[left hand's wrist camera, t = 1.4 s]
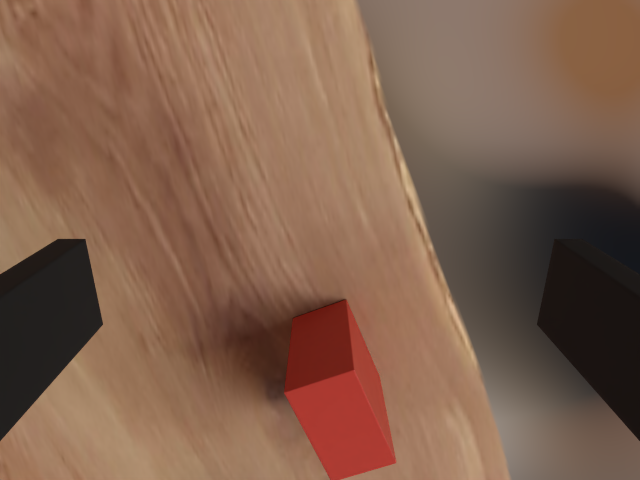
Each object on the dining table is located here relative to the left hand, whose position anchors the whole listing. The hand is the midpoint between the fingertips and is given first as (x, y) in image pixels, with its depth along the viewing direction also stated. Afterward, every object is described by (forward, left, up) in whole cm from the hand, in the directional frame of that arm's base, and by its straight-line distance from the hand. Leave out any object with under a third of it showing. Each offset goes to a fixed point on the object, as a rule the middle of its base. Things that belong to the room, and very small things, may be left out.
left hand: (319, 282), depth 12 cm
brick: (-7, -15, -21) cm, 27 cm away
